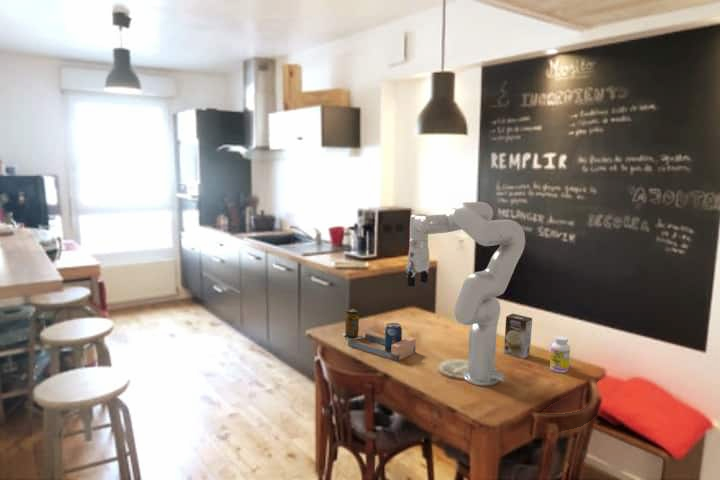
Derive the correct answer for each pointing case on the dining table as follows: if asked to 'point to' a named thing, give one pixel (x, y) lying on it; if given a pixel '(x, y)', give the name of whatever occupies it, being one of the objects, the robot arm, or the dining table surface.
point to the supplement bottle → (560, 354)
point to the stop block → (403, 348)
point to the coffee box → (517, 335)
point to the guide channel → (371, 348)
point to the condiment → (351, 325)
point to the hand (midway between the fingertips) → (417, 284)
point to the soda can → (392, 335)
